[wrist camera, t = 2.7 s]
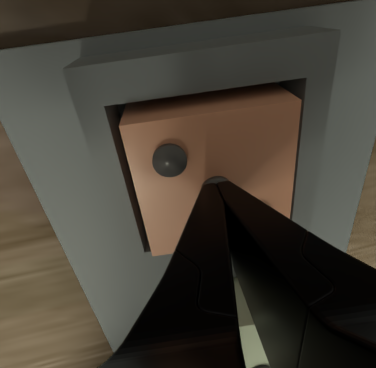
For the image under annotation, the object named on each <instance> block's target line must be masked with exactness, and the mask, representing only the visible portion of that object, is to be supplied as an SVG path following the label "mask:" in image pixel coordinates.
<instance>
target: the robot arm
mask: <svg viewBox="0 0 376 368" xmlns="http://www.w3.org/2000/svg"><path fill="white" fill-rule="evenodd" d="M232 265H233V268H234V270H235V273H236V276H237V279H238V281H239V284H240V287H241V289H242V292H243V295H244V297H245V300H246V303H247V306H248V308H249V311H250V314H251V316H252V319H253V322H254V324H255V327H256V330H257V333H258V335H259V338H260V341H261V343H262V346H263V349H264V352H265V354H266V357H267V360H268V362H269V365H270V368H376V269H375V268H373V267H371V266H369V265H367V264H365V263H364V262H362V261H360V260H358V259H356V258H354V257H352V256H351V255H349V254H347V253H345V252H343V251H341V250H339V249H338V248H336V247H334V246H333V245H331V244H329V243H328V242H326V241H324V240H323V239H321V238H319V237H318V236H316V235H315V234H313V233H311V232H310V231H308V232H307V229H305V228H303V227H302V226H300V225H299V224H297V223H296V222H294V221H292V220H291V219H289V218H288V217H286V216H284V215H283V214H281V213H280V212H278V211H277V210H275V209H273V208H272V207H270V206H269V205H267V204H266V203H264V202H262V201H261V200H259V199H258V198H256V197H254V196H253V195H251V194H250V193H248V192H247V191H245V190H243V189H242V188H240V187H239V186H237V185H235V184H234V183H232V182H231V181H222V182H217V184H216V183H208V184H203V185H202V187H201V189H200V192H199V194H198V196H197V199H196V201H195V203H194V206H193V208H192V210H191V213H190V215H189V217H188V220H187V222H186V225H185V227H184V229H183V232H182V234H181V236H180V239H179V241H178V243H177V246H176V248H175V251H174V252H173V255H172V257H171V259H170V262H169V264H168V266H167V268H166V270H165V272H164V274H163V276H162V278H161V280H160V282H159V283H158V285H157V287H156V288H155V290H154V292H153V294H152V295H151V297H150V299H149V300H148V302H147V303H146V305H145V307H144V308H143V310H142V312H141V313H140V315H139V316H138V318H137V320H136V321H135V323H134V325H133V326H132V328H131V329H130V331H129V333H128V334H127V336H126V337H125V339H124V341H123V342H122V344H121V345H120V346H119V347H118V349H117V350H116V351H115V352H114V353H113V355H112V356H111V357H110V358H109V359H108V360H107V361H106V362H104V363H103V364H102V365H100V366H99V367H98V368H246V364H245V359H244V354H243V349H242V344H241V337H240V329H239V322H238V313H237V304H236V296H235V287H234V279H233V271H232Z"/></svg>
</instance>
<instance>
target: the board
mask: <svg viewBox="0 0 376 368" xmlns="http://www.w3.org/2000/svg"><path fill="white" fill-rule="evenodd" d="M272 82H275V83H276V84H278V85H279V86H281V87H282V88H284V89H285V90H287V91H289V92H290V93H292V94H293V95H295V96H296V97H298V98H299V99H301V100H302V101H301V111H300V121H299V131H298V141H297V152H296V162H295V172H294V182H293V192H292V202H291V212H290V219H291V220H292V221H294V222H296V223H297V224H299V225H300V226H302V227H303V228H305V229H307V232H308V231H310V232H311V233H313V234H315V235H316V236H318V237H319V238H321V239H323V240H324V241H326V242H328V243H329V244H331V245H333V246H334V247H336V248H338V249H339V250H341V251H343V252H345V253H346V251H347V247H348V243H349V239H350V235H351V231H352V227H353V223H354V219H355V215H356V211H357V208H358V204H359V200H360V196H361V192H362V188H363V184H364V180H365V176H366V172H367V168H368V165H369V161H370V157H371V153H372V149H373V145H374V141H375V137H376V0H354V1H346V2H339V3H332V4H325V5H317V6H310V7H303V8H296V9H288V10H281V11H274V12H267V13H260V14H252V15H245V16H238V17H231V18H223V19H216V20H209V21H202V22H195V23H187V24H180V25H173V26H166V27H158V28H151V29H144V30H137V31H130V32H122V33H115V34H108V35H101V36H93V37H86V38H79V39H72V40H65V41H57V42H50V43H43V44H36V45H28V46H21V47H14V48H7V49H0V121H1V123H2V125H3V127H4V129H5V131H6V133H7V135H8V137H9V139H10V141H11V143H12V145H13V147H14V150H15V152H16V154H17V156H18V158H19V160H20V162H21V164H22V166H23V168H24V170H25V172H26V174H27V176H28V178H29V180H30V182H31V184H32V186H33V188H34V190H35V193H36V195H37V197H38V199H39V201H40V203H41V205H42V207H43V209H44V211H45V213H46V215H47V217H48V219H49V221H50V223H51V225H52V227H53V229H54V231H55V233H56V236H57V238H58V240H59V242H60V244H61V246H62V248H63V250H64V252H65V254H66V256H67V258H68V260H69V262H70V264H71V266H72V268H73V270H74V272H75V274H76V276H77V279H78V281H79V283H80V285H81V287H82V289H83V291H84V293H85V295H86V297H87V299H88V301H89V303H90V305H91V307H92V309H93V311H94V313H95V315H96V317H97V319H98V322H99V324H100V326H101V328H102V330H103V332H104V334H105V336H106V338H107V340H108V342H109V344H110V346H111V348H112V350H113V352H115V351H116V350H117V349H118V347H119V346H120V345H121V344H122V342H123V341H124V339H125V337H126V336H127V334H128V333H129V331H130V329H131V328H132V326H133V325H134V323H135V321H136V320H137V318H138V316H139V315H140V313H141V312H142V310H143V308H144V307H145V305H146V303H147V302H148V300H149V299H150V297H151V295H152V294H153V292H154V290H155V288H156V287H157V285H158V283H159V282H160V280H161V278H162V276H163V274H164V272H165V270H166V268H167V266H168V264H169V262H170V259H171V257H172V255H173V253H172V254H166V255H159V256H152V253H151V249H150V245H149V241H148V237H147V233H146V229H145V225H144V222H143V218H142V214H141V210H140V206H139V202H138V198H137V195H136V191H135V187H134V183H133V179H132V175H131V171H130V168H129V164H128V160H127V156H126V152H125V148H124V144H123V141H122V137H121V133H120V129H119V124H120V121H121V118H122V115H123V112H124V109H125V106H126V103H131V102H138V101H145V100H152V99H159V98H166V97H173V96H180V95H187V94H194V93H201V92H208V91H215V90H222V89H229V88H236V87H243V86H250V85H257V84H264V83H272ZM232 271H233V277H237V276H236V273H235V270H234V268H233V265H232Z"/></svg>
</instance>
